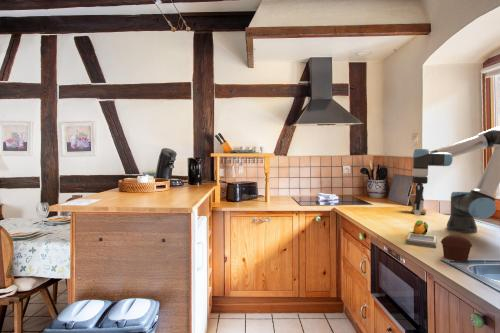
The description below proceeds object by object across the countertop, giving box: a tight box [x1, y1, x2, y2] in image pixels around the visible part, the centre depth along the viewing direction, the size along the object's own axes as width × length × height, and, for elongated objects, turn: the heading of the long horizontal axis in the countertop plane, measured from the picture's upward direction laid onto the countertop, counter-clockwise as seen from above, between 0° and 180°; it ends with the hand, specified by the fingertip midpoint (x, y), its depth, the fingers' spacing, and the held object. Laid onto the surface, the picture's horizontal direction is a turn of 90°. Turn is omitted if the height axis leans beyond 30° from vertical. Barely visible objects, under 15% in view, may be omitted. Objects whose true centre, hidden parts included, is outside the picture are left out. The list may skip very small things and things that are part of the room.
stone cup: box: [408, 193, 427, 215], centre depth 236 cm, size 15×12×15 cm
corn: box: [413, 220, 429, 235], centre depth 175 cm, size 7×8×20 cm
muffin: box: [440, 234, 473, 263], centre depth 136 cm, size 12×11×10 cm
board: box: [405, 232, 437, 249], centre depth 161 cm, size 13×15×2 cm
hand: (418, 213), depth 175 cm, fingers open, 13 cm apart
